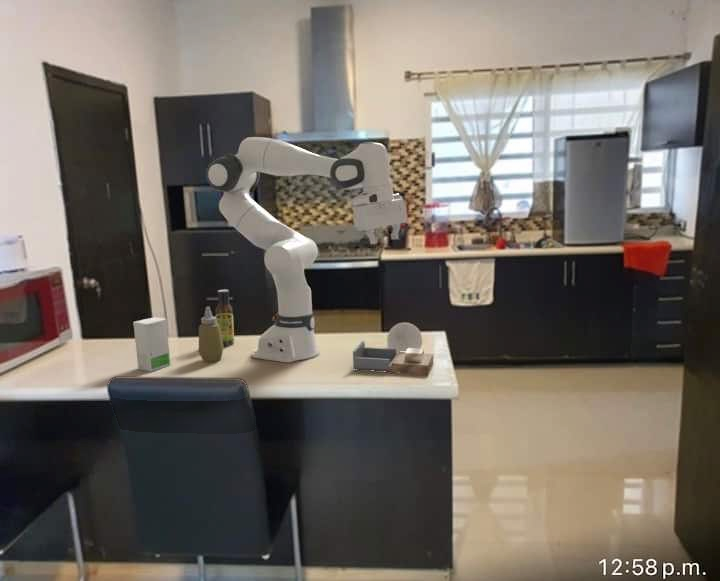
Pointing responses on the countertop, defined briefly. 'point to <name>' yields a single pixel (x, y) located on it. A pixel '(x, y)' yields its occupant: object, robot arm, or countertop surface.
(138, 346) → the skincare box
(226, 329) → the sauce bottle
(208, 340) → the squeeze bottle
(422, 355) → the tile
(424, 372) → the bench plate
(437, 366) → the countertop surface
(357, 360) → the box
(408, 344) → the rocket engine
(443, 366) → the countertop surface
